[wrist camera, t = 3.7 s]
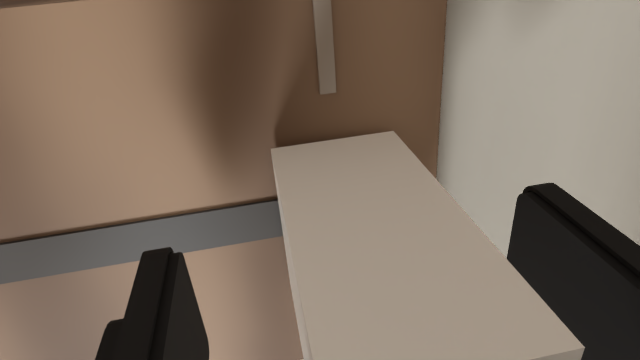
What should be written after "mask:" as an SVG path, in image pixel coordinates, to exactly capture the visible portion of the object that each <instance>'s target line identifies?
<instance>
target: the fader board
mask: <svg viewBox="0 0 640 360" xmlns="http://www.w3.org/2000/svg"><path fill="white" fill-rule="evenodd" d="M446 10H447V0H0V360H95V358H96V354H97V351H98V348H99V345H100V342H101V339H102V336H103V333H104V330H105V328H106V326H107V324H108V323H109V322H110V321H113V320H118V319H123V318H124V315H125V311H126V308H127V304H128V301H129V297H130V294H131V290H132V287H133V283H134V279H135V276H136V272H137V269H138V265H139V262H140V258H141V255H142V253H143V252H144V251H149V250H155V249H160V248H166V247H171V248H172V249H173V251H174V253H177V252H182V253H183V256H184V259H185V262H186V265H187V269H188V272H189V276H190V279H191V282H192V286H193V289H194V293H195V296H196V300H197V303H198V306H199V310H200V313H201V317H202V320H203V323H204V327H205V330H206V334H207V337H208V342H209V360H301V359H304V358H303V352H302V347H301V341H300V336H299V330H298V325H297V319H296V313H295V308H294V302H293V297H292V291H291V285H290V279H289V272H288V265H287V258H286V251H285V244H284V238H283V231H282V224H281V217H280V210H279V203H278V196H277V189H276V183H275V176H274V169H273V162H272V155H271V149H272V148H279V147H286V146H293V145H299V144H306V143H313V142H320V141H327V140H334V139H341V138H347V137H354V136H361V135H368V134H375V133H382V132H389V131H394V132H395V133H396V134H397V135H398V137H399V138H400V139H401V140H402V141H403V142H404V143H405V144H406V146H407V147H408V148H409V149H410V150H411V151H412V152H413V154H414V155H415V156H416V157H417V158H418V159H419V160H420V161H421V163H422V164H423V165H424V166H425V167H426V168H427V169H428V171H429V172H430V173H431V174H432V175H433V176H434V177H435V178H436V172H437V156H438V139H439V123H440V107H441V91H442V75H443V58H444V42H445V26H446Z"/></svg>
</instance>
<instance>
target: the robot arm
mask: <svg viewBox="0 0 640 360" xmlns="http://www.w3.org/2000/svg"><path fill="white" fill-rule="evenodd" d="M507 260H508V261H509V262H510V263H511V264H512V266H513V267H514V268H515V269H516V270H517V271H518V272H519V274H520V275H521V276H522V277H523V278H524V279H525V280H526V281H527V283H528V284H529V285H530V286H531V287H532V288H533V289H534V290H535V292H536V293H537V294H538V295H539V296H540V297H541V298H542V300H543V301H544V302H545V303H546V304H547V305H548V306H549V307H550V309H551V310H552V311H553V312H554V313H555V314H556V315H557V317H558V318H559V319H560V320H561V321H562V322H563V323H564V324H565V326H566V327H567V328H568V329H569V330H570V331H571V332H572V333H573V335H574V336H575V337H576V338H577V339H578V340H579V341H580V343H581V344H582V345H583V346H584V347H585V349H584V352H583V355H582V358H581V360H640V246H639V245H638V244H636V243H635V242H634V241H632V240H631V239H629V238H628V237H627V236H625V235H624V234H623V233H621V232H620V231H619V230H617V229H616V228H615V227H613V226H612V225H610V224H609V223H608V222H606V221H605V220H604V219H602V218H601V217H600V216H598V215H597V214H595V213H594V212H593V211H591V210H590V209H589V208H587V207H586V206H585V205H583V204H582V203H580V202H579V201H578V200H576V199H575V198H574V197H572V196H571V195H570V194H568V193H567V192H565V191H564V190H563V189H561V188H560V187H559V186H557V185H556V184H554V183H545V184H539V185H533V186H528V187H526V188H525V189H524V190H523V193H522V194H520V195H519V196H518V198H517V202H516V208H515V214H514V220H513V226H512V231H511V237H510V243H509V249H508V255H507ZM95 360H209V342H208V337H207V334H206V330H205V327H204V323H203V320H202V317H201V313H200V310H199V306H198V303H197V300H196V296H195V293H194V289H193V286H192V282H191V279H190V276H189V272H188V269H187V265H186V262H185V259H184V256H183V253H182V252H177V253H174V251H173V249H172V248H171V247H166V248H160V249H155V250H149V251H144V252H143V253H142V255H141V258H140V262H139V265H138V269H137V272H136V276H135V279H134V283H133V287H132V290H131V294H130V297H129V301H128V304H127V308H126V311H125V315H124V318H123V319H118V320H113V321H110V322H109V323H108V324H107V326H106V328H105V330H104V333H103V336H102V339H101V342H100V345H99V348H98V351H97V354H96V358H95Z"/></svg>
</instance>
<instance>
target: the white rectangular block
mask: <svg viewBox="0 0 640 360" xmlns="http://www.w3.org/2000/svg"><path fill="white" fill-rule="evenodd" d="M271 155H272V162H273V169H274V176H275V183H276V189H277V196H278V203H279V210H280V217H281V224H282V231H283V238H284V244H285V251H286V258H287V265H288V272H289V279H290V285H291V291H292V297H293V302H294V308H295V313H296V319H297V325H298V330H299V336H300V341H301V347H302V352H303V358H304V360H581V358H582V355H583V352H584V349H585V347H584V346H583V345H582V344H581V343H580V341H579V340H578V339H577V338H576V337H575V336H574V335H573V333H572V332H571V331H570V330H569V329H568V328H567V327H566V326H565V324H564V323H563V322H562V321H561V320H560V319H559V318H558V317H557V315H556V314H555V313H554V312H553V311H552V310H551V309H550V307H549V306H548V305H547V304H546V303H545V302H544V301H543V300H542V298H541V297H540V296H539V295H538V294H537V293H536V292H535V290H534V289H533V288H532V287H531V286H530V285H529V284H528V283H527V281H526V280H525V279H524V278H523V277H522V276H521V275H520V274H519V272H518V271H517V270H516V269H515V268H514V267H513V266H512V264H511V263H510V262H509V261H508V260H507V259H506V258H505V257H504V255H503V254H502V253H501V252H500V251H499V250H498V249H497V247H496V246H495V245H494V244H493V243H492V242H491V241H490V240H489V238H488V237H487V236H486V235H485V234H484V233H483V232H482V231H481V229H480V228H479V227H478V226H477V225H476V224H475V223H474V221H473V220H472V219H471V218H470V217H469V216H468V215H467V214H466V212H465V211H464V210H463V209H462V208H461V207H460V206H459V204H458V203H457V202H456V201H455V200H454V199H453V198H452V197H451V195H450V194H449V193H448V192H447V191H446V190H445V189H444V187H443V186H442V185H441V184H440V183H439V182H438V181H437V180H436V178H435V177H434V176H433V175H432V174H431V173H430V172H429V171H428V169H427V168H426V167H425V166H424V165H423V164H422V163H421V161H420V160H419V159H418V158H417V157H416V156H415V155H414V154H413V152H412V151H411V150H410V149H409V148H408V147H407V146H406V144H405V143H404V142H403V141H402V140H401V139H400V138H399V137H398V135H397V134H396V133H395V132H394V131H389V132H382V133H375V134H368V135H361V136H354V137H347V138H341V139H334V140H327V141H320V142H313V143H306V144H299V145H293V146H286V147H279V148H272V149H271Z"/></svg>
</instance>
